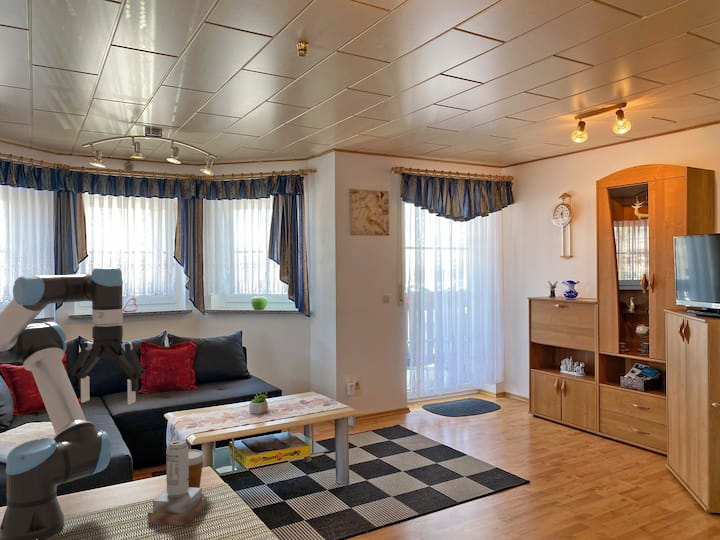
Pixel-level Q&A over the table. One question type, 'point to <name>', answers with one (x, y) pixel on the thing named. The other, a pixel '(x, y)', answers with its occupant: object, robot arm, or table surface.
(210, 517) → the table surface
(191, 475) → the disposable coffee cup
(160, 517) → the plinth
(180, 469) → the energy drink can
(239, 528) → the table surface
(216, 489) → the table surface
